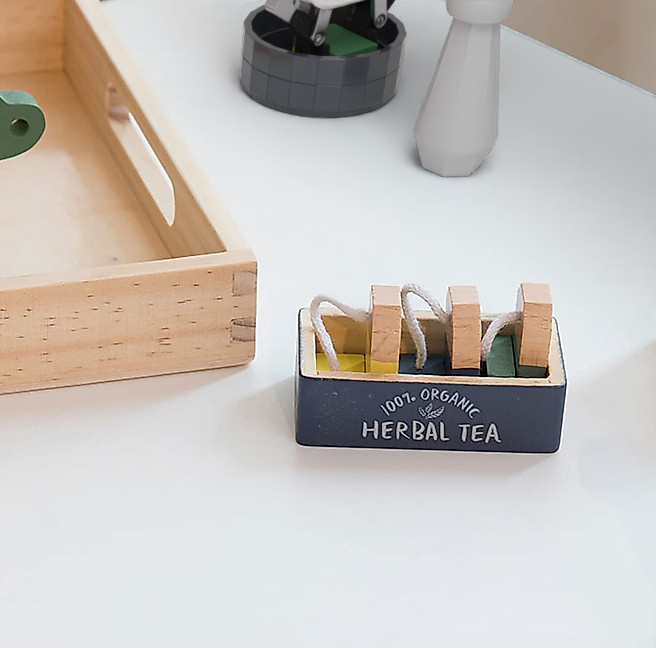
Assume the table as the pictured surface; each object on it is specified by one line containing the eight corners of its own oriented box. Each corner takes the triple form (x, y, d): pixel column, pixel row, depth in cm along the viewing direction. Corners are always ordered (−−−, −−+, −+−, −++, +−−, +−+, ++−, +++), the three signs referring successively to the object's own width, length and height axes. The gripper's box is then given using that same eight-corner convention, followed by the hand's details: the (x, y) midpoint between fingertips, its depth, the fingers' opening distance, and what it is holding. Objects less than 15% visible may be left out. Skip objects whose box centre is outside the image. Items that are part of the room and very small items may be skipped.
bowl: (324, 42, 125) (331, -14, 122) (430, 94, 118) (440, 35, 114) (207, 76, 120) (211, 18, 117) (309, 133, 113) (316, 72, 109)
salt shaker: (456, 190, 106) (491, 2, 97) (391, 162, 109) (420, -23, 100) (507, 165, 109) (546, -20, 100) (442, 139, 112) (475, -43, 103)
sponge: (328, 67, 120) (333, 22, 118) (371, 89, 117) (378, 44, 115) (289, 78, 118) (294, 34, 116) (332, 101, 115) (338, 55, 113)
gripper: (305, -141, 99) (278, 127, 112) (488, -181, 106) (444, 74, 119) (233, -168, 104) (215, 91, 116) (413, -205, 111) (378, 43, 123)
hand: (331, 80), depth 117 cm, fingers closed on sponge, 4 cm apart
